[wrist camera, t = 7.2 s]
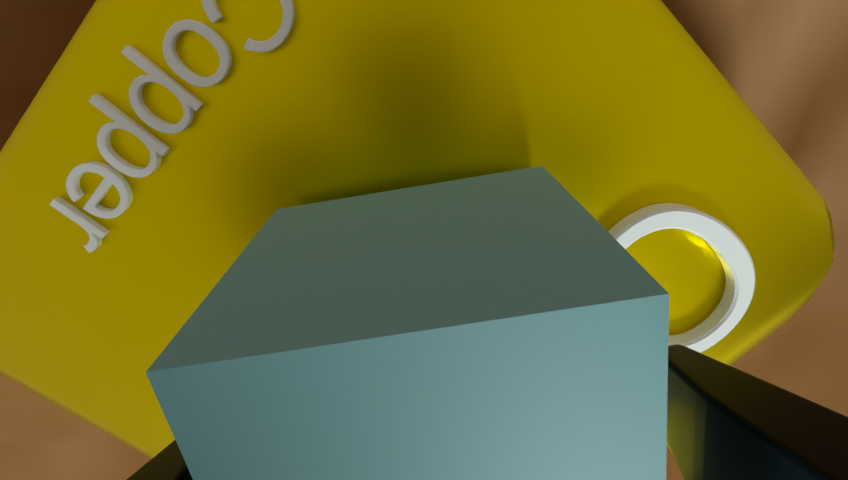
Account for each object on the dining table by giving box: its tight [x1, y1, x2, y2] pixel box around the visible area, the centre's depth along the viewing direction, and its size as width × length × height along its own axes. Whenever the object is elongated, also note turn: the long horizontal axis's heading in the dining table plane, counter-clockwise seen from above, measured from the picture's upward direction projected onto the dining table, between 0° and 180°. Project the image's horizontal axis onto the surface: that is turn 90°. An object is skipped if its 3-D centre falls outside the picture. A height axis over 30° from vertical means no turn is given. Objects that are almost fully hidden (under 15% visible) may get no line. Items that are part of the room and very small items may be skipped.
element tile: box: [0, 0, 835, 459], centre depth 13 cm, size 15×15×5 cm
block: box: [146, 166, 669, 480], centre depth 8 cm, size 5×5×5 cm
